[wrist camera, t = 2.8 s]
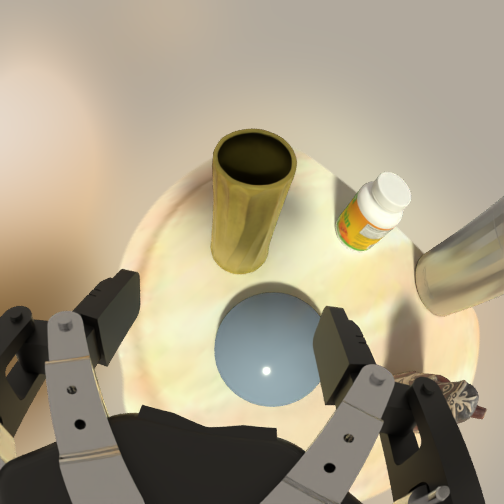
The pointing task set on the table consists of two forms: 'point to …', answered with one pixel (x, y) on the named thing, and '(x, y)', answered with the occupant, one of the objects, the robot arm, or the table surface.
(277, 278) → the table surface
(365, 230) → the supplement bottle
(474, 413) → the figurine
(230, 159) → the vase
